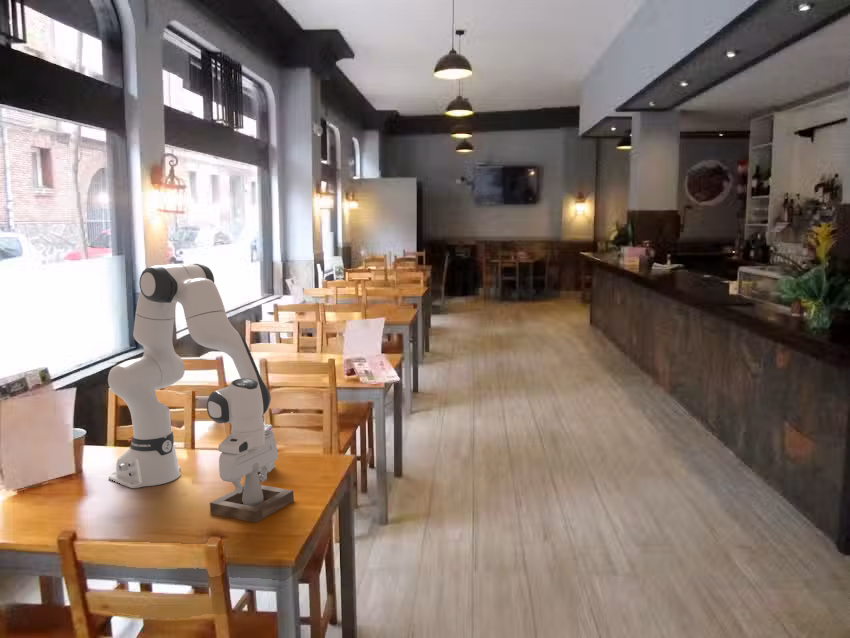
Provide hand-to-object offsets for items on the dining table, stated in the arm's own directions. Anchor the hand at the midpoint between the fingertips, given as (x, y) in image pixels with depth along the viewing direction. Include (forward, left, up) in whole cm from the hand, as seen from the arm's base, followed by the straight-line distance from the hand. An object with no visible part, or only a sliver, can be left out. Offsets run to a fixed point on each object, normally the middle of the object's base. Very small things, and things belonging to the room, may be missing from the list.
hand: (251, 486), depth 190 cm
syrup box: (-17, +25, -6) cm, 31 cm away
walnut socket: (0, 0, -6) cm, 6 cm away
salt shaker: (0, 0, -6) cm, 6 cm away
